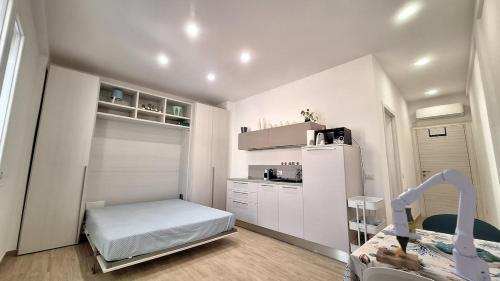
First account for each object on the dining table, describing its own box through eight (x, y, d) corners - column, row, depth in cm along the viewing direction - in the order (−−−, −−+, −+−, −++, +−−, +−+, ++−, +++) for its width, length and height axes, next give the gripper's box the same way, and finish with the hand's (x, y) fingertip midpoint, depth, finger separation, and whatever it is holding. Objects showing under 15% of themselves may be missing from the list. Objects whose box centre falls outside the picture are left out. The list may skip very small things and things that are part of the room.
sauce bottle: (412, 243, 120) (407, 208, 123) (401, 239, 126) (397, 206, 128) (420, 241, 122) (415, 207, 124) (409, 238, 127) (405, 206, 130)
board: (418, 260, 98) (417, 254, 98) (418, 270, 89) (417, 264, 89) (379, 252, 108) (379, 247, 108) (376, 260, 99) (375, 255, 99)
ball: (408, 249, 96) (398, 244, 99) (405, 256, 94) (395, 250, 97) (405, 252, 99) (396, 247, 101) (402, 259, 97) (393, 253, 100)
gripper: (419, 223, 97) (423, 253, 95) (384, 219, 106) (387, 246, 105) (419, 227, 92) (424, 259, 90) (382, 222, 101) (385, 251, 99)
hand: (404, 252), depth 97 cm, fingers closed, pressing on ball
